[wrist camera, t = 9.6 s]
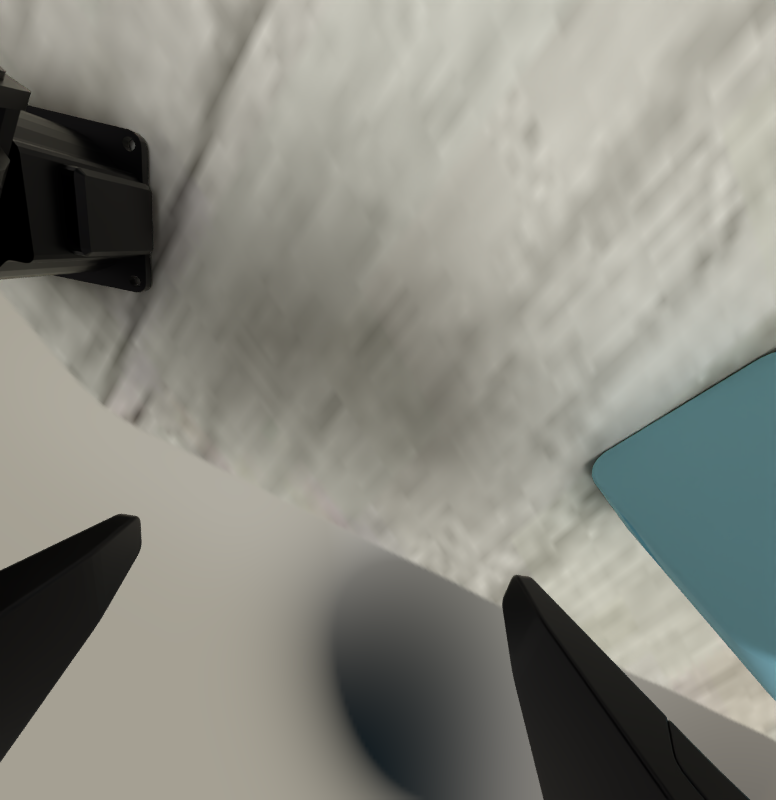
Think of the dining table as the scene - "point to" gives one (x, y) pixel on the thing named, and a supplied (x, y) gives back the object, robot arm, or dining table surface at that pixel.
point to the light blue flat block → (710, 507)
